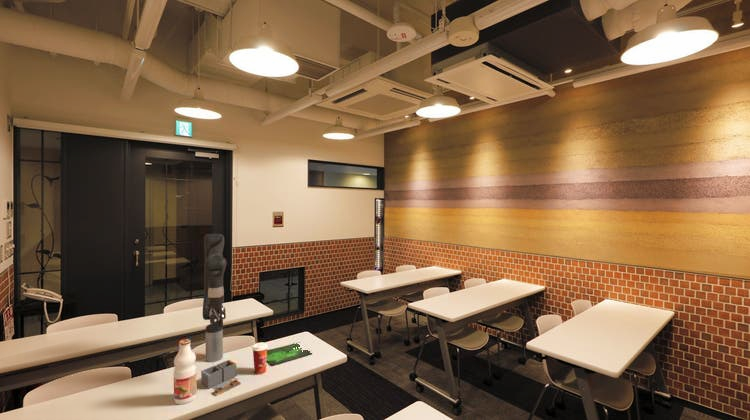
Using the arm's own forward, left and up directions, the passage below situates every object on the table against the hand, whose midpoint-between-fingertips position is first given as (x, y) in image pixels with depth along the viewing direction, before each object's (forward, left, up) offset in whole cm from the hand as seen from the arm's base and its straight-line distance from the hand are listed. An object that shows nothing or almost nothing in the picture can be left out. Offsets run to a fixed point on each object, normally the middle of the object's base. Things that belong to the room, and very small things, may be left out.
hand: (216, 324), depth 174 cm
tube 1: (+4, -5, -29) cm, 29 cm away
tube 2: (+4, +3, -29) cm, 29 cm away
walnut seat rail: (+15, -3, -29) cm, 32 cm away
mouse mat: (+8, +40, -29) cm, 50 cm away
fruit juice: (+7, -19, -29) cm, 35 cm away
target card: (+10, -1, -29) cm, 30 cm away
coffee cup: (+14, +17, -29) cm, 36 cm away
